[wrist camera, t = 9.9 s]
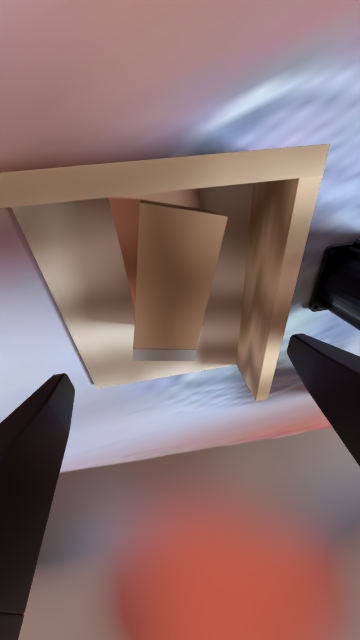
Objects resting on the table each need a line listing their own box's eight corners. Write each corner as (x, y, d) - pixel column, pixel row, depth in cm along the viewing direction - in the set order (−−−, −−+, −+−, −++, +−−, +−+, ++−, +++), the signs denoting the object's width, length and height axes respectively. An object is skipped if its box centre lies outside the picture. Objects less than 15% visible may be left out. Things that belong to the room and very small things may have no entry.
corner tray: (244, 359, 24) (267, 399, 20) (97, 384, 23) (85, 433, 18) (268, 158, 14) (330, 143, 9) (5, 182, 13) (-75, 178, 8)
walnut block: (206, 209, 14) (229, 216, 11) (184, 327, 20) (194, 361, 16) (139, 199, 13) (138, 202, 10) (134, 325, 19) (132, 360, 15)
